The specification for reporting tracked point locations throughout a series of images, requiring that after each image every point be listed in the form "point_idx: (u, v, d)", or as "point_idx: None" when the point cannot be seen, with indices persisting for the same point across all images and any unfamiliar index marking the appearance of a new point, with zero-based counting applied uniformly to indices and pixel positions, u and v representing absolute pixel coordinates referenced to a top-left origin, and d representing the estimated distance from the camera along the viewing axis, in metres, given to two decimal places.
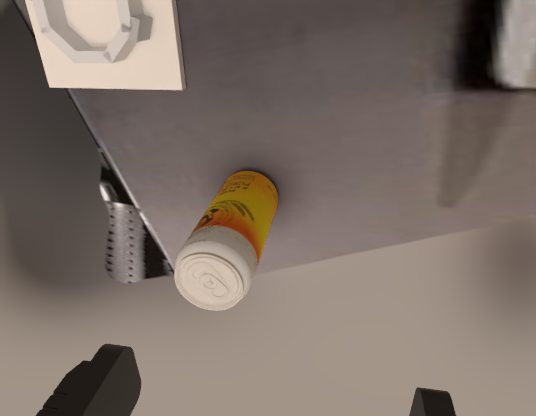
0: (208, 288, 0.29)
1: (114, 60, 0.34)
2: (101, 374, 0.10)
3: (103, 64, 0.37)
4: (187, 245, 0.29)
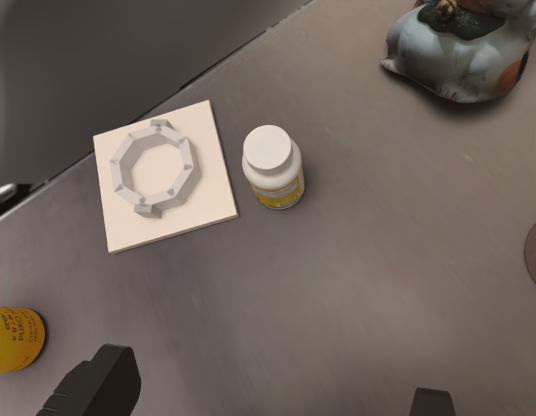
0: None
1: (117, 193, 0.40)
2: (101, 374, 0.10)
3: None
4: None
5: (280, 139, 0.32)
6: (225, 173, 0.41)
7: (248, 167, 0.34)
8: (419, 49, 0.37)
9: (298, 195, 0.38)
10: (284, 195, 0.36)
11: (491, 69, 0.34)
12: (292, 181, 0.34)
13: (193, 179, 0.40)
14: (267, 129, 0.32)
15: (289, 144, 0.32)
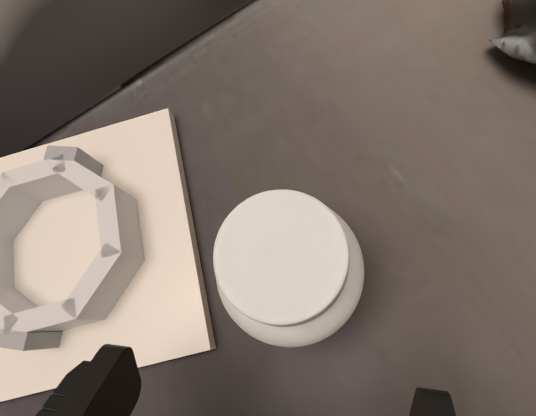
0: None
1: None
2: (101, 374, 0.10)
3: None
4: None
5: (318, 234, 0.11)
6: (191, 257, 0.20)
7: None
8: None
9: None
10: None
11: None
12: (342, 325, 0.13)
13: (122, 272, 0.19)
14: (281, 202, 0.12)
15: (344, 251, 0.11)
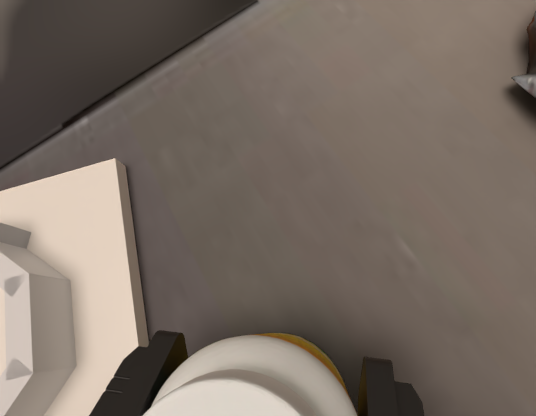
0: None
1: None
2: (160, 358, 0.10)
3: None
4: None
5: None
6: None
7: None
8: None
9: None
10: None
11: None
12: None
13: (40, 392, 0.14)
14: (226, 405, 0.07)
15: None
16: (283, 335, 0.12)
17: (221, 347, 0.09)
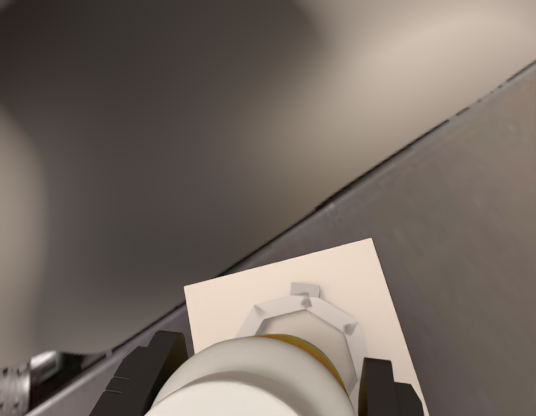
0: None
1: None
2: (160, 358, 0.10)
3: None
4: None
5: None
6: (414, 376, 0.25)
7: None
8: None
9: None
10: None
11: None
12: None
13: None
14: (225, 408, 0.07)
15: None
16: (283, 336, 0.12)
17: (220, 349, 0.09)
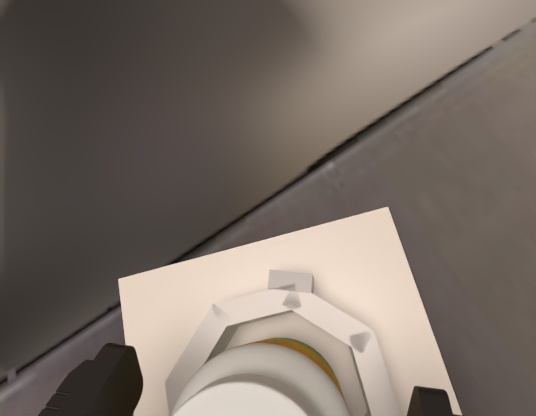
0: None
1: None
2: (104, 373, 0.10)
3: None
4: None
5: None
6: (458, 414, 0.16)
7: None
8: None
9: None
10: None
11: None
12: None
13: None
14: (244, 403, 0.08)
15: None
16: (286, 341, 0.14)
17: (235, 354, 0.11)
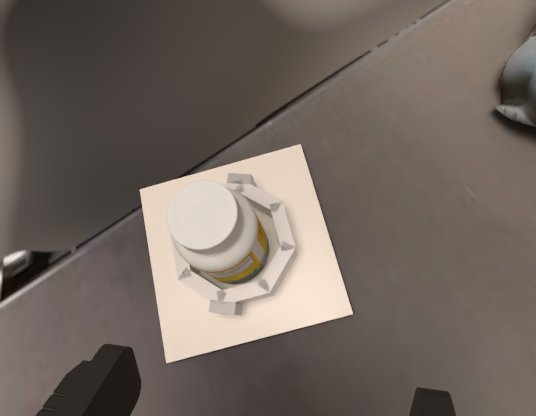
0: None
1: (182, 282, 0.28)
2: (101, 374, 0.10)
3: None
4: None
5: (222, 203, 0.21)
6: (332, 251, 0.29)
7: None
8: None
9: (257, 269, 0.28)
10: (234, 274, 0.25)
11: None
12: (243, 260, 0.23)
13: (290, 261, 0.28)
14: (204, 186, 0.22)
15: (235, 212, 0.21)
16: None
17: None
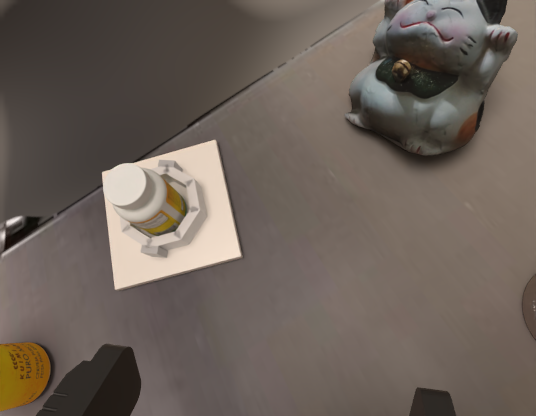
0: None
1: (124, 233, 0.41)
2: (101, 374, 0.10)
3: None
4: None
5: (137, 177, 0.34)
6: (230, 214, 0.42)
7: None
8: (381, 108, 0.38)
9: (175, 225, 0.41)
10: (154, 226, 0.38)
11: (450, 124, 0.35)
12: (156, 215, 0.36)
13: (198, 220, 0.41)
14: (127, 167, 0.34)
15: (144, 183, 0.34)
16: None
17: None
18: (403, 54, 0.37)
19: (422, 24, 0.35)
